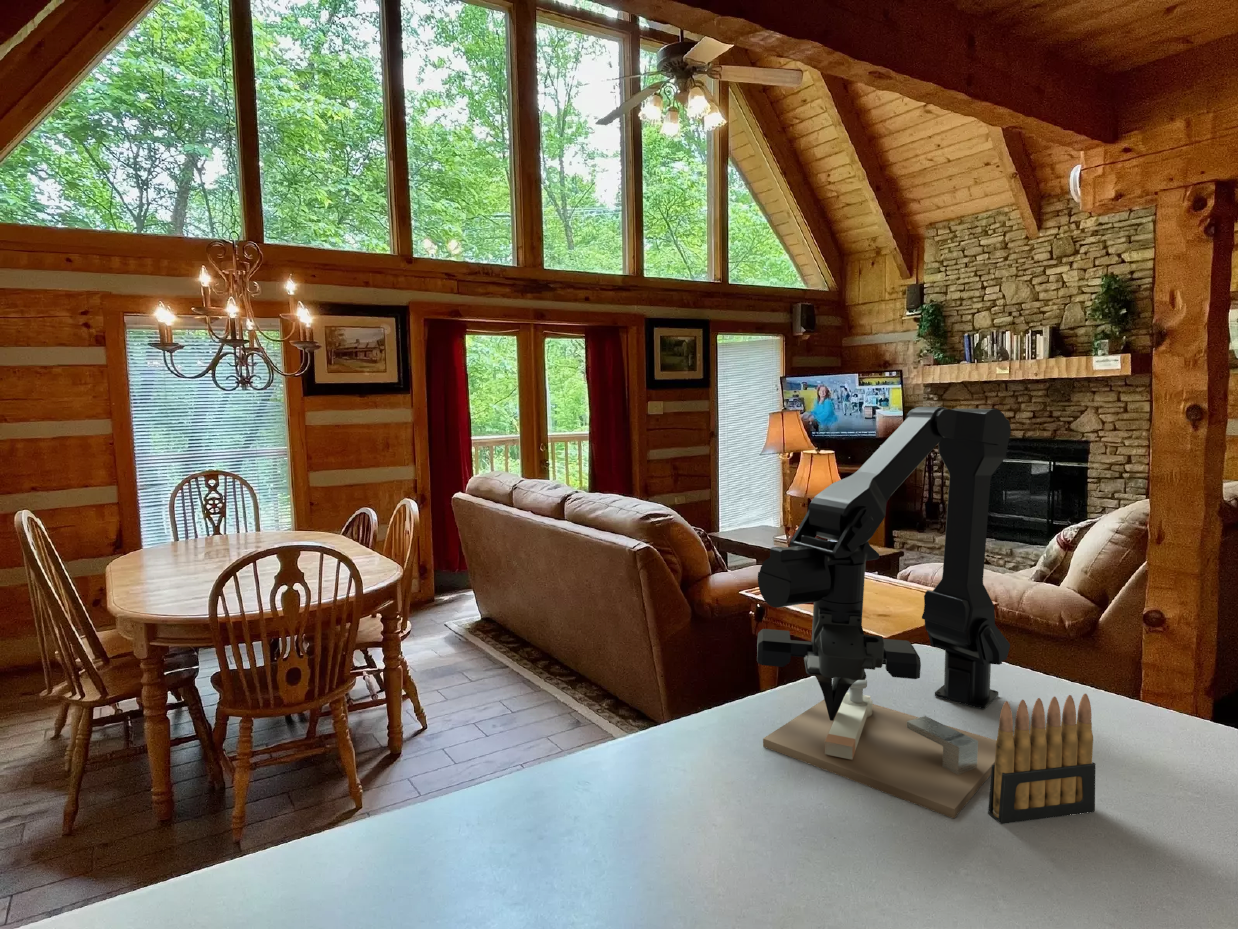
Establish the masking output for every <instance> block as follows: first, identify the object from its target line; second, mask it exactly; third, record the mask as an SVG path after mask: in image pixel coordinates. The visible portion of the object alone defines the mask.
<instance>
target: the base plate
mask: <svg viewBox="0 0 1238 929" xmlns="http://www.w3.org/2000/svg"><path fill="white" fill-rule="evenodd" d="M839 708H840V707H839ZM838 711H839V710H838ZM837 713H838V712H837ZM836 715H837V714H836ZM835 718H836V716H835ZM835 718H834V720H835ZM916 718H920V717H918V716H915V715H912V714H909V713H905V712H902V711H899V710H895V709H892V708H888V707H885V706H882V705H878V704H875V703H873V705H872V715H871V716H869V717H867V718H866V721H865V724H864V727H863V730H862V733H861V736H860V738H859V741H858V744H857V747H856V750H855V754H854V757H853V760H851V759H846V758H841V757H836V756H831V755H826V754H825V740H826V738H827V735H828V734H829V731H830V729H831V727H832V724H833V722H834V720H833V721H830V719H829V715H828V711H827V707H826V703H825V699H824V698H823V700H821V701H819V702H818V703H816V704H814V705H813V706H812V707H810V708H808V709H807V710H806V711H804V712H802V713H801V714H799V715H798V716H795V717H793V719H791V720H789V721H788V722H786V723H784V724H783V725H782V726H780V727H779V728H777V729H775V730H774V731H771V733H769V734H767V735H766V736H765V737H763V738H762V746H763V748H765V749H769V750H771V751H774V752H776V753H780V754H783V755H785V756H788V757H789V758H793V759H795V760H798V761H800V762H803V763H806V764H808V765H810V766H814V767H817V768H819V769H821V770H824V771H827V772H830V773H832V774H835V775H837V776H839V777H843V778H845V779H848V780H851V781H854V782H855V783H859V784H862V785H865V786H866V787H869V788H872V789H874V790H877V791H880V792H883V793H885V794H887V795H891V796H893V797H895V798H898V799H901V800H904V801H907V802H909V803H912V804H914V805H917V806H919V807H922V808H925V809H927V810H929V811H932V812H935V813H938V814H941V815H943V816H946V817H948V818H952V819H953V820H954V819H956V817H957V816H958V815H959V814H960V813H961V811H962V810H963V809H964V808H965V807H966V806H967V804H968V803H969V801H970V800H971V799H972V798H973V797H974V796H975V795H976V793H977V792H978V791H979V789H980V788H981V787H982V786H983V785H984V784H985V782H986V781H987V780H988V779H989V777H991V769H992V765H995V751H996V740H997V739H993V738H990V737H986V736H983V735H980V734H976V733H974V732H970V731H967V730H964V729H960V728H956V727H953V726H949V725H945V724H944V725H945V726H948V727H950V728H952V729H954V730H956V731H958V732H960V733H962V734H964V735H966V736H969V737H971V738H973V739H975V740H977V741H978V755H977V768H976V769H973V770H970V771H967V772H965V773H962V774H959V775H958V774H956V773H954V772H952V771H950V770H948V769H946V768H945V767H943V746H941V745H939V744H937V743H935V742H933V741H932V740H930V739H928V738H926V737H924V736H922V735H920V734H918V733H916V732H914V731H912V730H910V729H908V728H907V721H909V720H913V719H916Z"/></svg>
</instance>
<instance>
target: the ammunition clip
mask: <svg viewBox="0 0 1238 929" xmlns="http://www.w3.org/2000/svg"><path fill="white" fill-rule="evenodd" d="M1060 708H1061V707H1060V703H1059V700H1058V698H1057V697H1056V696H1055V695H1054V696H1053V697H1052V698H1051V700H1050V702H1049V704H1048V710H1047V714H1045V713H1046V712H1045V707H1044V703H1043V701H1042V699H1041V698H1040V697H1037V699H1036V700H1035V702H1034V705H1033V707H1032V713H1031V717H1030V716H1029V709H1028V705H1027V703H1026V700H1025V699H1021V700H1020V702H1019V704H1018V706H1017V710H1016V713H1015V714H1016V715H1015V722H1014V721H1013V712H1012V707H1011V705H1010V702H1009V701H1008V700H1006V701H1004V703H1003V705H1002V708H1001V710H1000V715H999V719H998V730H997V731H998V732H997V736H996V739H995V740H996V751H995V765H992V769H991V775H990V781H989V782H990V785H989V798H988V809H987V814H988V815H989V816H991V817H992V818H993V819H995V821H997V822H998V823H999V824H1000V825H1003V824H1004V825H1005V824H1013V823H1019V822H1027V821H1036V820H1045V819H1051V818H1052V819H1053V818H1059V817H1066V816H1067V815H1068V816H1073V815H1072V814H1076V815H1082V813H1084V814H1089V813H1090V812H1091V813H1095V810H1096V767H1097V766H1096V763H1095V762H1093V752H1094V751H1093V750H1094V735H1093V724H1092V717H1093V716H1092V706H1091V701H1090V698H1089V696H1088V694H1087V693H1083V695H1082V697H1081V699H1080V702H1079V704H1078V709H1077V711H1076V704H1075V701H1074V698H1073V696H1072V695H1071V694H1069V695H1068V696H1067V697H1066V700H1065V702H1064V705H1063V710H1062V714H1061V709H1060ZM1030 718H1031V720H1030ZM1013 724H1014V725H1013ZM1087 812H1088V813H1087ZM1080 813H1081V814H1080ZM1070 814H1071V815H1070ZM1068 816H1067V817H1068Z"/></svg>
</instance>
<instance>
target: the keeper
mask: <svg viewBox="0 0 1238 929" xmlns="http://www.w3.org/2000/svg"><path fill="white" fill-rule="evenodd" d="M948 726H949V725H946V726H945V724H943V723H942V722H939V721H937V720H935V719H933V718H931V717H929V716H926V715H923V716H920V717H919V718H916V719H913V720H909V721H907V728H908V729H910V730H912V731H914V732H916V733H918V734H920V735H922V736H924V737H926V738H928V739H930V740H932V741H933V742H935V743H937V744H939V745H941V746H943V767H945V768H946V769H948V770H950V771H952V772H954V773H956V774H958V775H959V774H962V773H965V772H967V771H970V770H973V769H976V768H977V755H978V741H977V740H975V739H973V738H971V737H969V736H966V735H964V734H962V733H960V732H958V731H956V730H954V729H952V728H950V727H951V726H950V727H948Z"/></svg>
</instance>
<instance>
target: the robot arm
mask: <svg viewBox="0 0 1238 929" xmlns="http://www.w3.org/2000/svg"><path fill="white" fill-rule="evenodd" d="M1011 428H1012V427H1011V423H1010V420H1009V419H1008V418H1006V416H1005V414H1004V413H1003V411H1001V410H1000V409H997V408H956V407H955V408H951V409H950V408H947V407H944V406H916V407H915V408H912V409H911V410H909V411H908V413H907V414H906V417H905V420H904V421H903V422H902V423H901V424H900V425H899V426H898V428H897V429H895V431H894V432H892V434H890V435H889V437H888V438H887V439H886V440H885V441H884V442H883V443H882V444H881V445H880V446H879V447H878V449H876V450H875V451H874V453H872V455H871V456H870V457H869V458H868V459H867V460H866V461H865V462H864V463H863V464H862V465H861V466H860V468H858V470H857V471H855V472H854V473H852V474H851V475H849V476H846V477H845V478H842V479H840V480H837V481H835V482H833V483H831V484H830V485H828V486H827V487H825V488H824V489H823V490H822V491H820V492H819V493H818V494H816V495H815V496H814V497H813V499H812V500H811V502H810V503H809V505H808V510H807V512H806V514H805V516H804V517H803V518H802V521H801V522H800V524H799V526H798V527H797V529H796V531H795V532H794V534H793V536H792V538H791V540H790V541H789V546H787V547H785V546H772V547H771V548H770V550H769V551H770V552H769V558H767V559H765V560H764V561H763V562H762V563H761V566H760V569H759V571H758V572H757V586H758V590H759V591H760V595H761V597H762V599H763V600H764V601H765V602H766V604H767V605H769V606H770V607H772V608H774V609H776V608H780V609H781V608H784V607H790V606H798V605H803V604H804V605H805V604H811V603H813V608H812V609H813V611H812V626H811V627H812V628H811V630H812V631H811V641H807V640H806V641H804V640H794V639H791V635H790V634H791V631H790V630H783V629H772V628H771V629H770V628H762V629H760V630H759V631H758V633H757V644H756V647H757V648H756V649H757V650H756V652H757V654H756V655H757V656H756V661H757V662H756V663H757V664H759V665H760V666H768V667H778V668H785V667H786V666H787V665H788V664H789V663H790V662H791V658H792V657H794V658H795V657H797V658H803V660H804V661H803V662H804V666H805V672H806V674H807V675H809V676H813V677H815V678H816V680H817V682H818V684H819V687H820V689H821V692H822V695H823V700H824V699H825V703H826V707H827V711H828V715H829V719H830V721H833V720H834V718H835V716H836V714H837V712H838V710H839V707H840V705H841V703H842V701H843V699H844V696H845V694H846V693H847V692H849V691H850V687H851V685H852V684H853V683H854V682H856V681H857V680H865V679H866V680H867V673H866V672H865V670H872V671H873V670H876V668H878V669H881V668H882V667H883V665H885V666H884V667H885V670H886V672H887V673H889V675H890V676H891V677H892V678H896V679H897V678H899V679H909V680H917V679H920V677H921V668H922V664H921V657H920V656H919V654H918V652H917V651H916V648H915V647H914V645H913V644H911V642H910V641H909V640H904V639H903V640H902V639H889V638H883V636H882V635H881V636H880V635H870V634H866V633H865V632H864V629H863V610H864V609H863V607H864V596H865V593H864V592H865V580H866V579H865V577H866V576H865V575H866V563H867V561H873V560H874V561H875V560H878V559H880V554H879V552H877V550H875V549H874V547H872V546H871V545H870V543H869V541H870V539H872V537H873V536H874V534H875V533H876V532H877V529H878V528H879V527H880V525H881V524H882V522H883V521H884V519H885V517H886V514H887V503H888V501H889V500H890V498H891V497H892V495H893V494H895V491H897V490H898V488H899V487H900V486H901V485H902V484H903V483H904V482H905V480H906V479H907V478H909V476H910V475H911V474H912V473H913V472H914V470H916V468H917V467H918V466H919V465H920V464H922V462H923V461H924V460H925V458H927V456H928V455H929V454H930V453H931V452H932V451H933V450H934V449H935V448H936V447H937V446H938V454H939V456H940V459H941V460H942V462H943V463H944V465H945V467H946V469H947V472H948V473H949V475H948V477H949V479H948V480H949V481H948V494H947V496H948V497H947V507H946V523H945V534H944V535H945V537H944V552H943V566H942V576H941V580H940V581H939V582H938V583H937V585H936V586H935V587H934V588H933V590H930V589H929V590H926V591H925V592H924V595H923V598H924V607H923V613H922V616H921V619H922V620H924V628H925V631H926V632H927V635H928V638H929V639H928V640H929V643H930V646H931V647H932V648H936V649H940V650H942V651H944V677H943V678H944V679H943V680H944V681H943V683H944V684H943V685H941V687H939V688H938V689H937V690H935V692H934V696H935V697H937V698H940V699H944V700H947V701H951V702H954V703H959V704H962V705H966V706H970V707H974V708H977V709H981V710H984V709H986V708H987V707H988V706H989V705H990V704H992V703H993V701H994V700H996V698H997V697H998V696H999V691H998V690H995V689H991V673H992V671H991V669H992V667H991V666H992V665H999V666H1000V665H1002V664H1003V661H1005V660H1007V659H1008V655H1009V651H1010V648H1011V644H1010V642H1009V641H1008V640H1007V638H1006V637H1005V635H1004V634H1003V633H1002V632H1001V630H1000V629H999V628H998V626H997V625H996V615H995V612H996V611H995V604H994V602H993V600H992V598H991V596H990V594H989V593H988V591H987V589H986V587H985V585H984V571H985V558H986V546H987V544H986V543H987V535H988V534H987V531H988V519H989V508H990V507H989V504H990V491H991V479H992V476H993V475H994V473H995V472H996V470H997V469H998V467H999V466H1000V465H1001V464H1002V462H1003V461H1004V460H1005V459H1006V456H1007V453H1008V452H1007V451H1008V447H1009V442H1010V438H1011V433H1012V429H1011ZM819 537H820V538H819Z"/></svg>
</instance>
